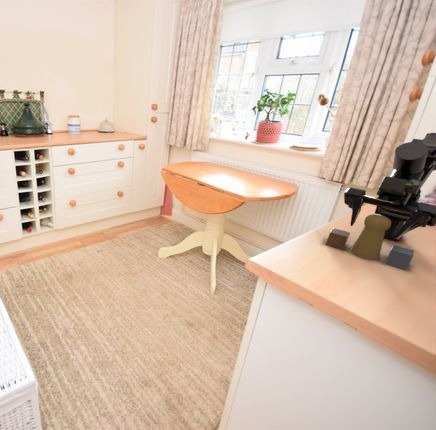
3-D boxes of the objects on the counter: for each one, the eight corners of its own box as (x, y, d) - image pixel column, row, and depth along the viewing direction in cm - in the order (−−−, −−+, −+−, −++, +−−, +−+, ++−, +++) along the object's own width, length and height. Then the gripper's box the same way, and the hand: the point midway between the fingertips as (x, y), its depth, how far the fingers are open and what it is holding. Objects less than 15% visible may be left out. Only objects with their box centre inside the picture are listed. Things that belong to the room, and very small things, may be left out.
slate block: (386, 257, 77) (393, 244, 75) (407, 264, 74) (414, 250, 73) (385, 263, 74) (391, 249, 73) (406, 269, 72) (413, 255, 70)
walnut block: (329, 240, 85) (333, 227, 84) (345, 245, 83) (350, 232, 81) (325, 244, 83) (330, 231, 81) (342, 249, 80) (347, 236, 79)
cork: (370, 249, 81) (386, 213, 76) (384, 261, 75) (401, 222, 71) (346, 246, 82) (360, 210, 77) (357, 257, 76) (373, 219, 72)
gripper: (358, 158, 78) (329, 204, 76) (460, 173, 64) (428, 230, 63) (358, 181, 86) (331, 224, 84) (449, 200, 72) (420, 251, 70)
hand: (372, 231), depth 75 cm, fingers open, 9 cm apart
